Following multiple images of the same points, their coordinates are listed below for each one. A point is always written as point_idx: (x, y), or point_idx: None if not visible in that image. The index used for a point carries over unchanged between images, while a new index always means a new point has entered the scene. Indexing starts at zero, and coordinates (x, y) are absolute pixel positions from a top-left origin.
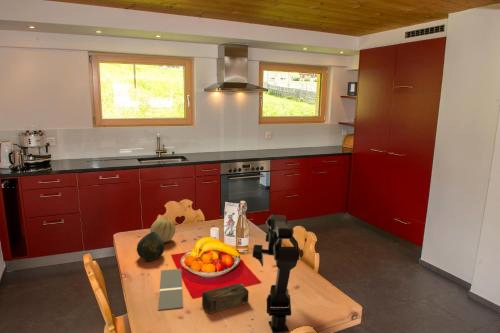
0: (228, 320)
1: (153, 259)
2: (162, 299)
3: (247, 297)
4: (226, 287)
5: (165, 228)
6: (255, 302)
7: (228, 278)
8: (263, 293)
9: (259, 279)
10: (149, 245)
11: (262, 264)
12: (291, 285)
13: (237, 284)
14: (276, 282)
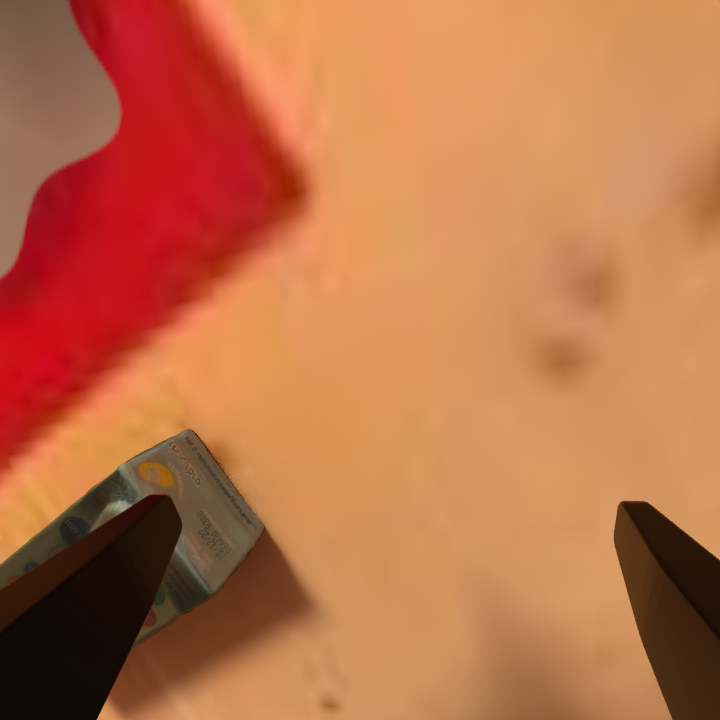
0: (198, 711)
1: None
2: None
3: (238, 565)
4: (34, 563)
5: None
6: (317, 523)
7: (46, 207)
8: (359, 387)
9: (287, 140)
10: None
11: (128, 639)
12: (653, 164)
13: (95, 504)
14: None
